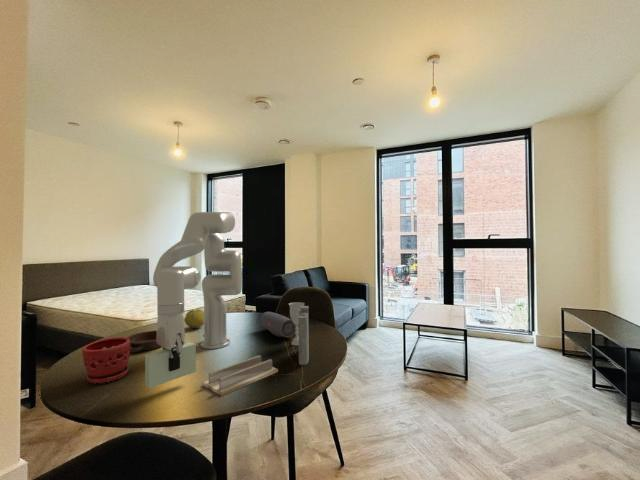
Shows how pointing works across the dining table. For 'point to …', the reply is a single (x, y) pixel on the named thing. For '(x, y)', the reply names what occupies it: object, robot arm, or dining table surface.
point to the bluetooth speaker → (278, 324)
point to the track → (239, 375)
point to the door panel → (159, 365)
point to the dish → (143, 341)
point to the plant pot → (106, 359)
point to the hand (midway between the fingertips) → (171, 367)
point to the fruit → (195, 318)
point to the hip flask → (303, 335)
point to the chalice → (295, 318)
